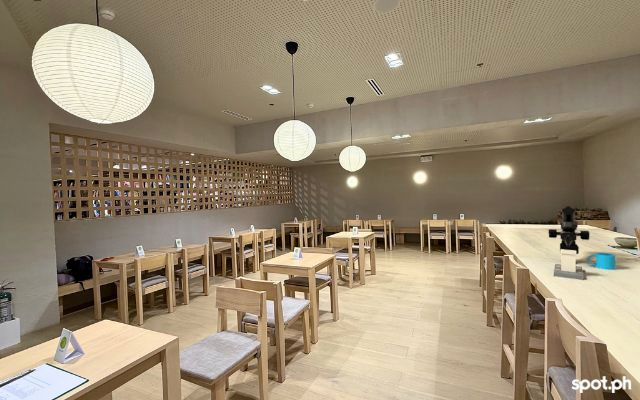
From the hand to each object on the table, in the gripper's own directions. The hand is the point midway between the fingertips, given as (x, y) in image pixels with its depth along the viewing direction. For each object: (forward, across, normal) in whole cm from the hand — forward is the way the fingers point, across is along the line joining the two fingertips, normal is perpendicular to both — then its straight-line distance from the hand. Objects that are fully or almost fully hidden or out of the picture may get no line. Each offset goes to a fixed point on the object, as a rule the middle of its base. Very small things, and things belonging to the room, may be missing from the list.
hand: (568, 245), depth 172 cm
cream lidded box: (+19, 0, -3) cm, 19 cm away
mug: (+1, +14, +19) cm, 24 cm away
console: (+18, 0, +1) cm, 18 cm away
